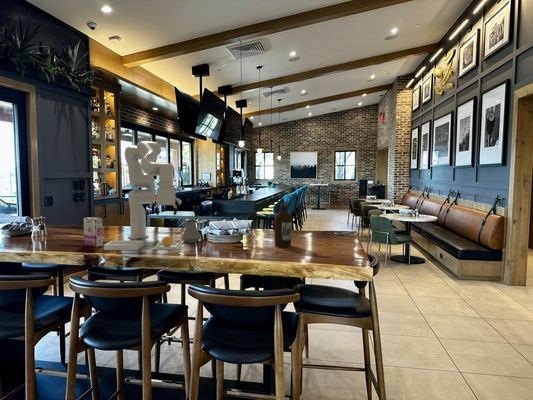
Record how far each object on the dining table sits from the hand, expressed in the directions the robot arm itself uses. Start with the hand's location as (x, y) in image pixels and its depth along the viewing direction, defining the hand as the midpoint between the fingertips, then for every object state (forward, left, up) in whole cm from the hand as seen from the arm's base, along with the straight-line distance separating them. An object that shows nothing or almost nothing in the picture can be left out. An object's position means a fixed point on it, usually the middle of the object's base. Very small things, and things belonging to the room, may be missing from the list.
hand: (166, 214), depth 198 cm
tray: (0, 0, -19) cm, 19 cm away
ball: (0, 0, -18) cm, 18 cm away
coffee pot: (-21, +12, -19) cm, 31 cm away
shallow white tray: (0, -24, -19) cm, 30 cm away
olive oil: (0, +67, -19) cm, 70 cm away
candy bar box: (-7, -44, -19) cm, 48 cm away
